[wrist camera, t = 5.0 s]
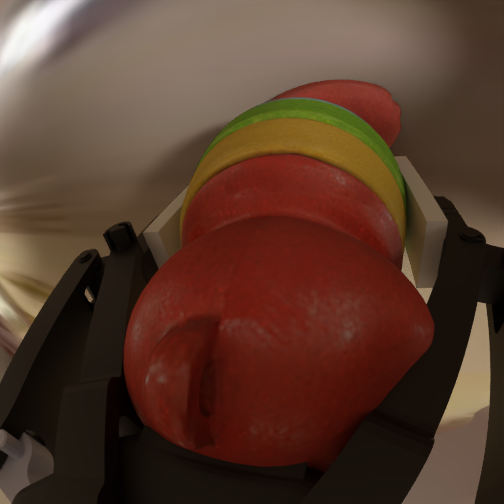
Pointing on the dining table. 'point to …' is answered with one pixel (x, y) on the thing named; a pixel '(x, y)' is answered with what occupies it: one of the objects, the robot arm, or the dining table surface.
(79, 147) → the dining table surface
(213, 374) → the stacking bear
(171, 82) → the dining table surface
